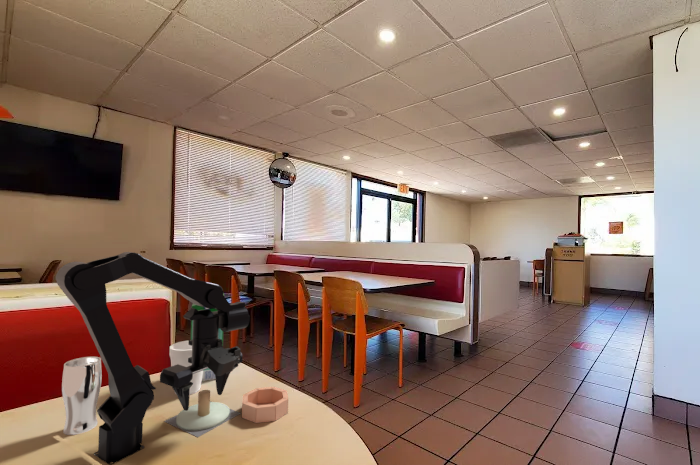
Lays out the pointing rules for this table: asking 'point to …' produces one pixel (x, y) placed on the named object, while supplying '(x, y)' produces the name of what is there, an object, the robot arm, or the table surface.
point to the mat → (200, 432)
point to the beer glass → (81, 393)
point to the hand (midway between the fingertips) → (203, 402)
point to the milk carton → (207, 372)
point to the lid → (203, 414)
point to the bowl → (264, 404)
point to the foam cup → (185, 362)
